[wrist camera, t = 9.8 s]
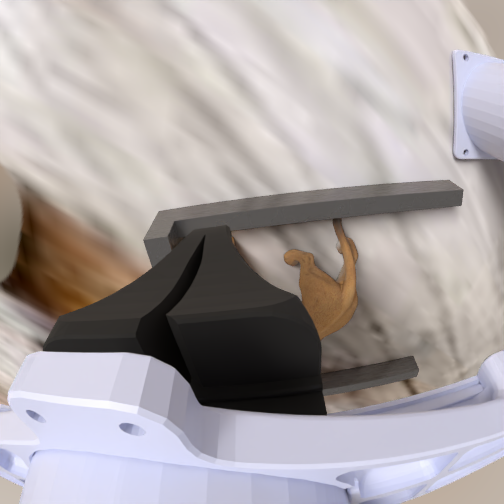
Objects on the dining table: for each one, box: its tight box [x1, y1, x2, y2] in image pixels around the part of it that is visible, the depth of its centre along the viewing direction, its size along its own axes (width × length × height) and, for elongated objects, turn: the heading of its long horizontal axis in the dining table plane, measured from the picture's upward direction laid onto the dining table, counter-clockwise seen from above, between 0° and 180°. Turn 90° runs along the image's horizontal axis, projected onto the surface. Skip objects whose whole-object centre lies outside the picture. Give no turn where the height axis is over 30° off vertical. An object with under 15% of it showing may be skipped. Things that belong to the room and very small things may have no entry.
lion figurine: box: [284, 218, 358, 341], centre depth 21 cm, size 15×5×9 cm, turn 162°
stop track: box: [143, 180, 463, 396], centre depth 24 cm, size 21×20×4 cm
